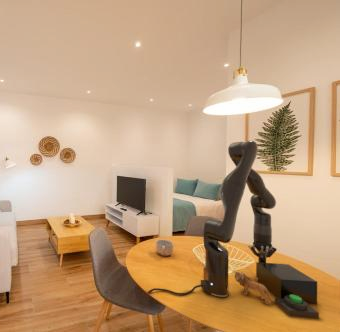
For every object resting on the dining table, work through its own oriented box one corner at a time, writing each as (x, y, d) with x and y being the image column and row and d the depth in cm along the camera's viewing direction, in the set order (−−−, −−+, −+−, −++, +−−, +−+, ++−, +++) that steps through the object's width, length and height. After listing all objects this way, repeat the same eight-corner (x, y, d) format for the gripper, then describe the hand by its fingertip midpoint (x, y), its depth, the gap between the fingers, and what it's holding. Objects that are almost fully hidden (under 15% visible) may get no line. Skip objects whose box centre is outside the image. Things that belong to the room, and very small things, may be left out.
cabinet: (257, 281, 107) (257, 262, 107) (288, 283, 105) (288, 264, 105) (280, 301, 91) (281, 279, 91) (317, 304, 89) (317, 281, 89)
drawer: (250, 273, 113) (251, 258, 113) (276, 274, 112) (277, 259, 111) (276, 294, 95) (276, 277, 95) (308, 296, 93) (308, 279, 93)
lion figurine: (232, 291, 99) (232, 271, 99) (236, 287, 102) (236, 268, 102) (273, 307, 87) (274, 286, 87) (276, 302, 91) (276, 281, 91)
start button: (294, 303, 84) (294, 299, 84) (287, 298, 88) (287, 294, 88) (304, 304, 84) (304, 300, 84) (296, 299, 87) (297, 294, 87)
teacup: (159, 249, 147) (159, 237, 147) (175, 253, 141) (175, 241, 141) (152, 256, 136) (152, 244, 136) (169, 261, 130) (169, 248, 129)
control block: (289, 315, 83) (289, 305, 83) (274, 302, 91) (274, 293, 90) (318, 318, 81) (318, 308, 81) (301, 304, 89) (301, 295, 89)
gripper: (271, 230, 116) (270, 262, 116) (244, 229, 118) (244, 260, 118) (281, 235, 109) (281, 268, 109) (253, 233, 110) (252, 267, 111)
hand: (262, 264), depth 113 cm, fingers closed
